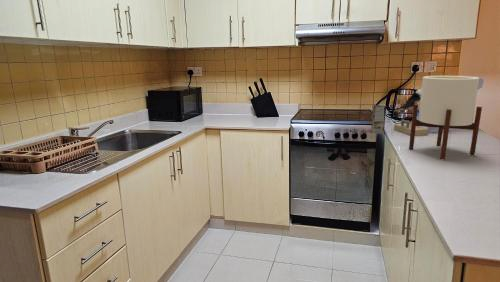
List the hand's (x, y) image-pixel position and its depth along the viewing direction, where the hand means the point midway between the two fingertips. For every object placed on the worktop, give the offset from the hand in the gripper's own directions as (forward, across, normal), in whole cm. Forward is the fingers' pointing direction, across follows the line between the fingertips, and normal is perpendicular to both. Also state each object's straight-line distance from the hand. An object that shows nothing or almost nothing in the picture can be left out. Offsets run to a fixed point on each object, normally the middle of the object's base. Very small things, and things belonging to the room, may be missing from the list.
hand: (405, 105), depth 203 cm
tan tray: (+5, -10, +13) cm, 17 cm away
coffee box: (+20, -9, +2) cm, 22 cm away
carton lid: (+3, -8, +11) cm, 14 cm away
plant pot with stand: (+16, +27, +32) cm, 45 cm away
